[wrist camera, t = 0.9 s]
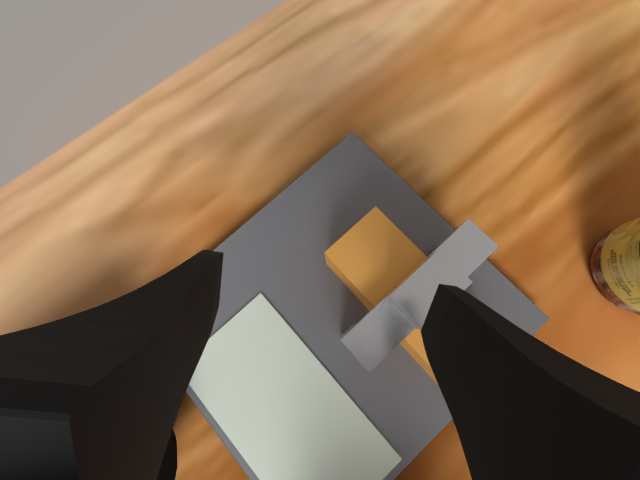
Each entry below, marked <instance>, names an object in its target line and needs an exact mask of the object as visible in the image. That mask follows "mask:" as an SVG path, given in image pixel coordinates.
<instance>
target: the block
mask: <svg viewBox="0 0 640 480" xmlns="http://www.w3.org/2000/svg"><path fill="white" fill-rule="evenodd" d="M324 254H325V259H326V264H327V265H328V267H329V268H330V269H331V270H332V271H333V272H334V273H335V274H336V275H337V276H338V277H339V278H340V279H341V281H342V282H343V283H344V284H345V285H346V286H347V287H348V288H349V289H350V290H351V291H352V292H353V294H354V295H355V296H356V297H357V298H358V299H359V300H360V301H361V302H362V303H363V304H364V305H365V307H366V308H367V309H368V310H369V311H370V310H371V309H372V308H374V307H375V306H376V305H377V304H378V303H379V302H380V301H381V300H382V299H383V298H384V297H385V296H386V295H387V294H388V293H389V292H390V291H392V290H393V289H394V288H395V287H396V286H397V285H398V284H399V283H400V282H401V281H402V280H403V279H404V278H405V277H406V276H407V275H408V274H409V273H411V272H412V271H413V270H414V269H415V268H416V267H417V266H418V265H419V264H420V263H421V262H422V261H423V260H424V259H425V258H426V257H427V256H426V255H425V254H424V253H423V252H422V251H421V250H420V249H419V248H418V247H417V246H416V245H415V244H414V243H413V242H412V241H411V240H410V239H408V238H407V237H406V236H405V235H404V234H403V233H402V232H401V231H400V230H399V229H398V228H397V227H396V226H395V225H394V224H393V223H392V222H391V221H390V220H389V219H388V218H387V217H386V216H385V215H384V214H383V213H382V212H381V211H380V210H379V209H378V208H377V207H376V206H375V207H374V208H373V209H372V210H371V211H370V212H369V213H368V214H367V215H365V216H364V217H363V218H362V219H361V220H360V221H359V222H358V223H357V224H355V225H354V226H353V227H352V228H351V229H350V230H349V231H348V232H347V233H345V234H344V235H343V236H342V237H341V238H340V239H339V240H338V241H337V242H335V243H334V244H333V245H332V246H331V247H330V248H329V249H328V250H326V251H325V252H324ZM400 344H401V346H402V347H403V348H404V349H405V350H406V351H407V352H408V353H409V354H410V355H411V356H412V357H413V359H414V360H415V361H416V362H417V363H418V364H419V365H420V366H421V367H422V368H423V369H424V370H425V371H426V373H427V374H428V375H429V376H430V377H431V378H432V379H433V380H434V381H435V382H436V383H437V381H436V378H435V376H434V373H433V371H432V368H431V366H430V364H429V361H428V358H427V355H426V351H425V348H424V344H423V340H422V335H421V329H414V330H413V331H412V332H411V333H410V334H409V335H408V336H407V337H406V338H405V339H404V340H403V341H401V342H400ZM437 384H438V383H437Z"/></svg>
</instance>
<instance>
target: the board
mask: <svg viewBox="0 0 640 480" xmlns="http://www.w3.org/2000/svg"><path fill="white" fill-rule="evenodd" d="M375 206H376V207H377V208H378V209H379V210H380V211H381V212H382V213H383V214H384V215H385V216H386V217H387V218H388V219H389V220H390V221H391V222H392V223H393V224H394V225H395V226H396V227H397V228H398V229H399V230H400V231H401V232H402V233H403V234H404V235H405V236H406V237H407V238H408V239H410V240H411V241H412V242H413V243H414V244H415V245H416V246H417V247H418V248H419V249H420V250H421V251H422V252H423V253H424V254H425V255H426V256H428V255H427V253H428V252H430V251H431V250H432V249H433V248H434V247H435V246H436V245H437V244H438V243H439V242H440V241H441V240H443V239H444V238H445V237H446V236H448V235H449V234H450V233H451V232H453V231H454V230H455V229H454V228H453V227H452V226H451V225H450V224H449V223H448V222H447V221H446V220H445V219H444V218H443V217H441V216H440V215H439V214H438V213H437V212H436V211H435V210H434V209H433V208H432V207H431V206H430V205H429V204H428V203H427V202H426V201H425V200H423V199H422V198H421V197H420V196H419V195H418V194H417V193H416V192H415V191H414V190H413V189H412V188H411V187H410V186H409V185H408V184H407V183H405V182H404V181H403V180H402V179H401V178H400V177H399V176H398V175H397V174H396V173H395V172H394V171H393V170H392V169H391V168H390V167H389V166H388V165H386V164H385V163H384V162H383V161H382V160H381V159H380V158H379V157H378V156H377V155H376V154H375V153H374V152H373V151H372V150H371V149H370V148H368V147H367V146H366V145H365V144H364V143H363V142H362V141H361V140H360V139H359V138H358V137H357V136H356V135H355V134H354V133H353V132H351V133H350V134H349V135H348V136H347V137H346V138H344V139H343V140H342V141H341V142H340V143H339V144H337V145H336V146H335V147H334V148H333V149H332V150H330V151H329V152H328V153H327V154H326V155H324V156H323V157H322V158H321V159H320V160H319V161H317V162H316V163H315V164H314V165H313V166H312V167H310V168H309V169H308V170H307V171H306V172H305V173H303V174H302V175H301V176H300V177H299V178H298V179H296V180H295V181H294V182H293V183H292V184H290V185H289V186H288V187H287V188H286V189H285V190H283V191H282V192H281V193H280V194H279V195H278V196H276V197H275V198H274V199H273V200H272V201H271V202H269V203H268V204H267V205H266V206H265V207H264V208H262V209H261V210H260V211H259V212H258V213H256V214H255V215H254V216H253V217H252V218H251V219H249V220H248V221H247V222H246V223H245V224H244V225H242V226H241V227H240V228H239V229H238V230H237V231H235V232H234V233H233V234H232V235H231V236H230V237H228V238H227V239H226V240H225V241H224V242H222V243H221V244H220V245H219V246H218V247H217V248H215V249H214V250H213V251H217V252H223V265H222V277H221V289H220V301H219V308H218V312H217V315H216V319H215V322H214V325H213V329H212V332H211V335H210V337H209V339H208V342H207V344H206V346H205V349H204V351H203V353H202V356H201V358H200V360H199V362H198V365H197V367H196V369H195V372H194V374H193V376H192V378H191V381H190V383H189V385H188V387H187V390H186V393H187V394H188V396H189V397H190V398H191V400H192V401H193V402H194V404H195V405H196V406H197V408H198V409H199V411H200V412H201V413H202V415H203V416H204V417H205V419H206V420H207V421H208V423H209V424H210V426H211V427H212V428H213V430H214V431H215V432H216V434H217V435H218V436H219V438H220V439H221V441H222V442H223V443H224V445H225V446H226V447H227V449H228V450H229V451H230V453H231V454H232V456H233V457H234V458H235V460H236V461H237V462H238V464H239V465H240V466H241V468H242V469H243V471H244V472H245V473H246V475H247V476H248V477H249V479H250V480H394V479H395V478H396V477H397V476H398V475H399V474H400V473H401V472H402V471H403V470H404V469H405V468H406V467H407V466H408V464H409V463H410V462H411V461H412V460H413V459H414V458H415V457H416V456H417V455H418V454H419V453H420V452H421V451H422V450H423V449H424V448H425V447H426V446H427V445H428V444H429V443H430V442H431V441H432V440H433V439H434V437H435V436H436V435H437V434H438V433H439V432H440V431H441V430H442V429H443V428H444V427H445V426H446V425H447V424H448V423H449V422H450V421H451V420H452V419H453V418H452V416H451V414H450V411H449V409H448V407H447V404H446V402H445V399H444V397H443V395H442V392H441V390H440V388H439V385H438V384H437V383H436V382H435V381H434V380H433V379H432V378H431V377H430V376H429V375H428V374H427V373H426V371H425V370H424V369H423V368H422V367H421V366H420V365H419V364H418V363H417V362H416V361H415V360H414V359H413V357H412V356H411V355H410V354H409V353H408V352H407V351H406V350H405V349H404V348H403V347H402V346H401V344H400V343H399V344H398V345H397V346H396V347H395V348H394V349H393V350H392V351H391V352H390V353H389V354H388V355H387V356H386V357H385V358H384V359H383V360H382V361H381V362H380V363H379V364H378V365H377V366H376V367H375V368H374V369H373V370H372V371H371V372H370V373H369V372H368V371H367V370H366V369H365V368H364V367H363V365H362V364H361V363H360V362H359V361H358V360H357V359H356V357H355V356H354V355H353V354H352V353H351V352H350V351H349V350H348V348H347V347H346V346H345V345H344V344H343V343H342V342H341V340H340V336H341V335H342V334H343V333H344V332H345V331H346V330H347V329H348V328H349V327H350V326H351V325H352V324H353V323H358V322H359V321H360V320H361V319H362V318H363V317H364V316H365V315H366V314H367V313H368V312H369V310H368V309H367V308H366V307H365V305H364V304H363V303H362V302H361V301H360V300H359V299H358V298H357V297H356V296H355V295H354V294H353V292H352V291H351V290H350V289H349V288H348V287H347V286H346V285H345V284H344V283H343V282H342V281H341V279H340V278H339V277H338V276H337V275H336V274H335V273H334V272H333V271H332V270H331V269H330V268H329V267H328V265H327V264H326V259H325V254H324V252H325V251H326V250H328V249H329V248H330V247H331V246H332V245H333V244H334V243H335V242H337V241H338V240H339V239H340V238H341V237H342V236H343V235H344V234H345V233H347V232H348V231H349V230H350V229H351V228H352V227H353V226H354V225H355V224H357V223H358V222H359V221H360V220H361V219H362V218H363V217H364V216H365V215H367V214H368V213H369V212H370V211H371V210H372V209H373V208H374V207H375ZM468 278H469V279H470V280H471V281H472V283H471V284H470V285H469V286H468V287H467V288H466V289H465V290H464V291H466V292H467V293H469V294H471V295H472V296H474V297H475V298H477V299H478V300H480V301H481V302H483V303H484V304H486V305H487V306H488V307H490V308H491V309H493V310H494V311H496V312H497V313H499V314H500V315H501V316H503V317H504V318H506V319H507V320H509V321H510V322H512V323H513V324H515V325H516V326H518V327H519V328H521V329H522V330H524V331H525V332H527V333H529V334H530V335H532V336H533V335H534V334H535V333H536V332H537V331H538V330H539V329H540V328H541V326H542V325H543V324H544V323H545V322H546V321H547V320H548V319H549V318H548V317H547V316H546V315H545V314H544V313H543V312H542V311H541V310H540V309H539V308H538V307H537V306H536V305H535V304H534V303H533V302H531V301H530V300H529V299H528V298H527V297H526V296H525V295H524V294H523V293H522V292H521V291H520V290H519V289H518V288H517V287H516V286H515V285H513V284H512V283H511V282H510V281H509V280H508V279H507V278H506V277H505V276H504V275H503V274H502V273H501V272H500V271H499V270H498V269H497V268H495V267H494V266H493V265H492V264H491V263H490V262H489V261H488V260H487V259H486V260H485V261H484V262H483V263H482V264H480V265H479V266H478V267H477V268H476V269H475V270H474V271H473V272H472V273H471V274H470V275H469V276H468Z"/></svg>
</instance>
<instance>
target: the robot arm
mask: <svg viewBox="0 0 640 480" xmlns="http://www.w3.org/2000/svg"><path fill="white" fill-rule="evenodd" d="M222 265H223V252H217V251H210V250H202V251H201V252H199V253H198V254H196V255H195V256H193V257H191V258H190V259H188V260H187V261H185V262H184V263H182V264H181V265H179V266H177V267H176V268H174V269H173V270H171V271H169V272H168V273H166V274H164V275H163V276H161V277H159V278H157V279H155V280H153V281H152V282H150V283H148V284H146V285H144V286H142V287H141V288H139V289H137V290H135V291H133V292H131V293H128V294H126V295H124V296H122V297H119V298H117V299H115V300H112V301H110V302H108V303H105V304H103V305H100V306H98V307H95V308H92V309H89V310H86V311H83V312H80V313H78V314H75V315H72V316H69V317H66V318H63V319H60V320H57V321H53V322H50V323H46V324H43V325H40V326H36V327H32V328H28V329H25V330H21V331H17V332H13V333H9V334H5V335H0V480H157V476H158V473H159V470H160V467H161V463H162V460H163V457H164V454H165V451H166V447H167V444H168V441H169V438H170V435H171V432H172V429H173V426H174V422H175V419H176V416H177V413H178V410H179V407H180V405H181V402H182V400H183V397H184V394H185V392H186V390H187V387H188V385H189V383H190V381H191V378H192V376H193V374H194V372H195V369H196V367H197V365H198V362H199V360H200V358H201V356H202V353H203V351H204V349H205V346H206V344H207V342H208V339H209V337H210V335H211V332H212V329H213V325H214V322H215V319H216V315H217V312H218V308H219V301H220V289H221V277H222ZM421 335H422V340H423V344H424V348H425V351H426V355H427V358H428V361H429V364H430V366H431V368H432V371H433V373H434V376H435V378H436V381H437V383H438V385H439V388H440V390H441V392H442V395H443V397H444V399H445V402H446V404H447V407H448V409H449V411H450V414H451V416H452V418H453V421H454V423H455V426H456V429H457V431H458V434H459V437H460V440H461V444H462V447H463V450H464V453H465V457H466V460H467V463H468V467H469V470H470V474H471V477H472V480H640V392H638V391H635V390H633V389H631V388H629V387H626V386H624V385H622V384H620V383H618V382H616V381H614V380H612V379H610V378H608V377H605V376H603V375H601V374H599V373H597V372H595V371H593V370H591V369H589V368H587V367H585V366H583V365H581V364H580V363H578V362H576V361H574V360H572V359H571V358H569V357H567V356H565V355H563V354H562V353H560V352H558V351H556V350H554V349H553V348H551V347H549V346H548V345H546V344H544V343H543V342H541V341H540V340H538V339H536V338H535V337H533V336H532V335H530V334H529V333H527V332H525V331H524V330H522V329H521V328H519V327H518V326H516V325H515V324H513V323H512V322H510V321H509V320H507V319H506V318H504V317H503V316H501V315H500V314H499V313H497V312H496V311H494V310H493V309H491V308H490V307H488V306H487V305H486V304H484V303H483V302H481V301H480V300H478V299H477V298H475V297H474V296H472V295H471V294H469V293H467V292H466V291H464V290H462V289H461V288H459V287H457V286H451V285H444V284H439V285H438V288H437V290H436V293H435V296H434V298H433V301H432V303H431V306H430V308H429V311H428V314H427V316H426V319H425V321H424V324H423V326H422V329H421Z"/></svg>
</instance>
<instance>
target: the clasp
mask: <svg viewBox="0 0 640 480" xmlns="http://www.w3.org/2000/svg"><path fill="white" fill-rule="evenodd" d="M498 247H499V246H498V245H497V244H496V243H495V242H494V241H493V240H492V239H491V238H489V237H488V236H487V235H486V234H485V233H484V232H483V231H482V230H481V229H480V228H479V227H478V226H476V225H475V224H474V223H473V222H472V221H471V220H470V219H468V220H466V221H465V222H464V223H463V224H461V225H460V226H459V227H458V228H456V229H455V230H454V231H453V232H451V233H450V234H449V235H448V236H446V237H445V238H444V239H443V240H441V241H440V242H439V243H438V244H437V245H436V246H435V247H434V248H433V249H432V250H431V251H430V252H428V253H427V255H428V256H427V257H426V258H425V259H424V260H423V261H422V262H421V263H420V264H419V265H418V266H417V267H416V268H415V269H414V270H413V271H412V272H411V273H409V274H408V275H407V276H406V277H405V278H404V279H403V280H402V281H401V282H400V283H399V284H398V285H397V286H396V287H395V288H394V289H393V290H392V291H390V292H389V293H388V294H387V295H386V296H385V297H384V298H383V299H382V300H381V301H380V302H379V303H378V304H377V305H376V306H375V307H374V308H372V309H371V310H370V311H369V312H368V313H367V314H366V315H365V316H364V317H363V318H362V319H361V320H360V321H359V322H358V323H353V324H352V325H351V326H350V327H349V328H348V329H347V330H346V331H345V332H344V333H343V334H342V335H341V336H340V340H341V342H342V343H343V344H344V345H345V346H346V347H347V348H348V350H349V351H350V352H351V353H352V354H353V355H354V356H355V357H356V359H357V360H358V361H359V362H360V363H361V364H362V365H363V367H364V368H365V369H366V370H367V371H368V372H369V373H370V372H371V371H372V370H373V369H374V368H375V367H376V366H377V365H378V364H379V363H380V362H381V361H382V360H383V359H384V358H385V357H386V356H387V355H388V354H389V353H390V352H391V351H392V350H393V349H394V348H395V347H396V346H397V345H398V344H399V343H400V342H401V341H403V340H404V339H405V338H406V337H407V336H408V335H409V334H410V333H411V332H412V331H413V330H414V329H422V326H423V324H424V321H425V319H426V316H427V314H428V311H429V308H430V306H431V303H432V301H433V298H434V296H435V293H436V290H437V288H438V285H439V284H444V285H451V286H457V287H459V288H461V289H462V290H465V289H466V288H467V287H468V286H469V285H470V284H471V283H472V281H471V280H470V279H469V278H468V276H469V275H470V274H471V273H472V272H473V271H474V270H475V269H476V268H477V267H478V266H479V265H480V264H482V263H483V262H484V261H485V260H486V259H487V258H488V257H489V256H490V255H491V254H492V253H493V252H494V251H495V250H496V249H497V248H498Z"/></svg>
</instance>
